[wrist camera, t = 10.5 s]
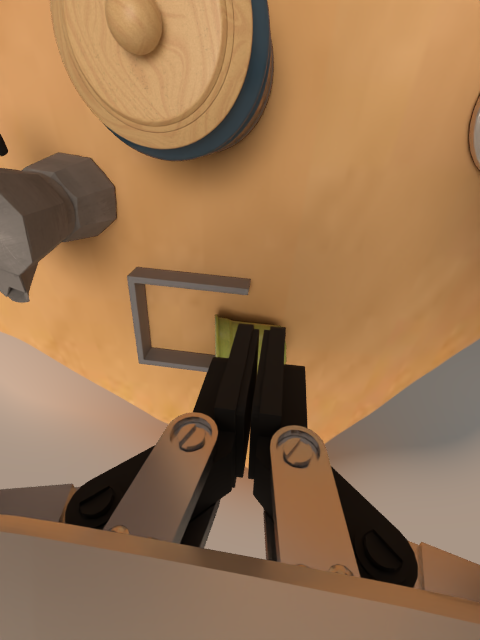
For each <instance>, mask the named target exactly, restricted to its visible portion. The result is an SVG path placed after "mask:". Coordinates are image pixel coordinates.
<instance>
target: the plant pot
mask: <svg viewBox="0 0 480 640" xmlns="http://www.w3.org/2000/svg"><path fill="white" fill-rule="evenodd" d="M239 323H242V324H252V325H254V329H259V348H258V365H259V359H260V353H261V346H262V340H263V333H264V330H270V326H274V327H281V326H276V325H267V324H257V323H248V322H240V321H232V320H230V319H227V318H221V317H218V315H215V355H216V357H222V358H229V355H230V351H231V348H232V344H233V341H234V337H235V334H236V331H237V327H238V324H239ZM284 364H286V342H285V351H284ZM258 365H257V372H258Z"/></svg>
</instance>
